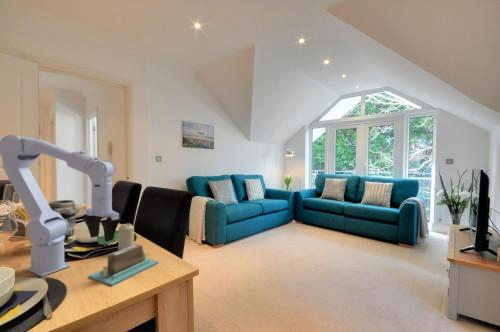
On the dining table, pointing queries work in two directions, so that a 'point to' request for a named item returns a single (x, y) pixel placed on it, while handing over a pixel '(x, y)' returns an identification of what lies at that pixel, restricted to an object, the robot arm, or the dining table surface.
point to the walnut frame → (124, 259)
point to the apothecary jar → (66, 214)
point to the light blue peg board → (123, 272)
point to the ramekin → (102, 241)
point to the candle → (125, 236)
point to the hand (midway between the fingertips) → (101, 238)
